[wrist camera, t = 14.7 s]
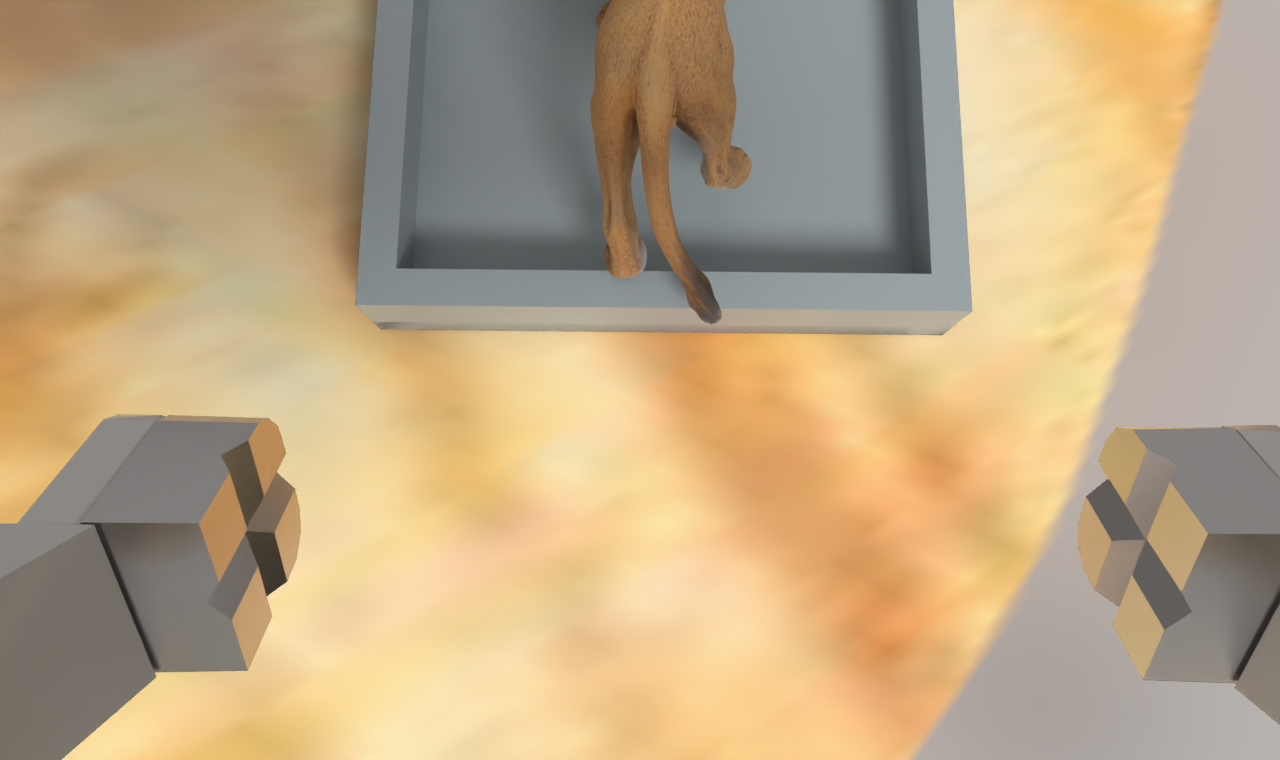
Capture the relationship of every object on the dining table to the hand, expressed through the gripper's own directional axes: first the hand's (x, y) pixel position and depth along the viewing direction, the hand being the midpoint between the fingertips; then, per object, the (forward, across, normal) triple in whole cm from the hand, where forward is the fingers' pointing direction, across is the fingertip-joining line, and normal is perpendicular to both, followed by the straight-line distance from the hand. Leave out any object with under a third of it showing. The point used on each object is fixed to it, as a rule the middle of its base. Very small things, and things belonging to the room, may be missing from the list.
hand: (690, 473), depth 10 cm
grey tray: (+22, 0, +1) cm, 22 cm away
